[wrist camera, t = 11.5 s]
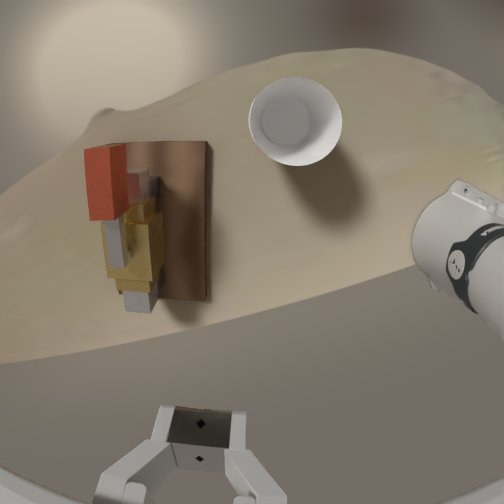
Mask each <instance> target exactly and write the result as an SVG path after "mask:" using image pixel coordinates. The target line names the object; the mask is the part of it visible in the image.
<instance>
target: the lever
mask: <svg viewBox="0 0 504 504" xmlns="http://www.w3.org/2000/svg"><path fill="white" fill-rule="evenodd" d="M84 159H85V175H86V187H87V198H88V207H89V216H90V221H93V220H103V221H104V229H105V237H106V244H107V251H108V258H109V264H110V268H125V267H126V266H127V265H128V263H129V261H130V260H131V258H132V251H131V250H130V249H129V248H128V247H127V241H126V232H125V222H124V213H125V212H126V211H128V210H129V198H128V182H127V162H126V144H114V145H103V146H98V147H93V148H89V149H84Z"/></svg>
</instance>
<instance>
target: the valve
mask: <svg viewBox="0 0 504 504" xmlns="http://www.w3.org/2000/svg"><path fill="white" fill-rule="evenodd" d="M127 182H128V198H129V210H128V211H126V212H125V213H124V222H125V232H126V241H127V247H128V248H129V249H130V250H131V251H132V258H131V260H130V261H129V263H128V265H127V266H126V267H125V268H110V264H109V258H108V251H107V244H106V237H105V229H104V221H103V222H102V223H101V232H102V241H103V249H104V256H105V263H106V270H107V276H108V278H115V280H116V287H117V290H122V292H123V298H124V304H125V310H126V311H130V312H140V313H150V314H151V312H152V310H153V308H154V306H155V304H156V302H157V300H158V297H157V294H158V293H159V291H160V289H161V288H162V286H163V284H164V282H165V275H164V262H165V250H164V232H163V210H156V204H155V202H156V201H157V200H158V199H159V198H160V176H150V171H149V169H127Z"/></svg>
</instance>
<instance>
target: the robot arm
mask: <svg viewBox="0 0 504 504" xmlns="http://www.w3.org/2000/svg"><path fill="white" fill-rule="evenodd" d="M465 189H466V191H465V192H464V190H465ZM412 249H413V256H414V259H415V262H416V264H417V265H418V267H419V268H420V269H421V270H422V271H423V272H424V273H425V274H426V276H427V277H428V281H429V284H430V287H431V288H432V289H434V290H435V291H440V290H442V291H443V292H445V293H446V294H447V295H448V296H449V297H451V298H452V299H453V300H454V301H455V302H457V303H460V302H462V303H463V304H464V305H465V306H466V307H467V308H468V309H470V310H471V311H472V312H474V313H476V314H479V315H480V316H481V317H482V318H483V320H484V321H485V322H486V323H487V324H488V325H489V326H490V327H491V328H492V330H493V331H494V332H495V333H496V334H497V335H498V336H499V338H500V339H501V340H502V341H504V203H503V202H501V201H499V200H498V199H496V198H494V197H492V196H490V195H488V194H487V193H485V192H483V191H481V190H479V189H477V188H475V187H473V186H471V185H469V184H468V183H466V182H464V181H461V180H457V181H455V182H454V183H453V184H452V186H451V187H450V188H449V190H448V191H447V192H446V193H445V194H444V195H442V196H441V197H439V198H437V199H436V200H434V201H433V202H432V203H431V204H430V205H429V206H428V207H427V208H426V209H425V210H424V212H423V213H422V215H421V216H420V218H419V220H418V222H417V224H416V227H415V230H414V234H413V241H412ZM246 437H247V412H242V411H240V412H239V411H227V410H211V409H195V408H187V407H180V406H172V405H166V404H162V405H161V406H160V409H159V412H158V415H157V419H156V422H155V426H154V430H153V433H152V437H151V440H149V439H147V440H145V441H144V442H143V443H141V444H140V445H139V446H137V447H136V448H135V449H133V450H132V451H131V452H130V453H128V454H127V455H126V456H124V457H123V458H122V459H120V460H119V461H118V462H117V463H115V464H114V465H112V466H111V467H110V468H108V469H107V470H106V471H104V472H103V473H102V474H101V477H100V480H99V483H98V486H97V489H96V492H95V495H94V498H93V501H92V503H90V502H88V501H84V500H81V499H79V498H76V497H73V496H70V495H68V494H65V493H63V492H60V491H57V490H55V489H52V488H50V487H48V486H45V485H43V484H41V483H38V482H36V481H34V480H32V479H30V478H28V477H25V476H23V475H21V474H19V473H17V472H15V471H13V470H11V469H9V468H7V467H6V466H4V465H1V464H0V504H155V502H154V501H153V499H152V497H151V496H152V495H153V494H154V493H155V492H156V491H157V490H158V489H159V488H160V487H161V486H162V485H163V484H164V483H165V482H166V481H167V480H168V479H169V478H170V477H171V476H172V475H173V474H174V473H175V472H176V471H177V470H178V468H184V469H194V470H204V471H213V472H223V473H225V474H226V476H227V477H228V479H229V481H230V482H231V484H232V486H233V487H234V489H235V491H236V492H237V494H238V495H239V496H238V497H236V498H235V499H234V504H287V496H286V494H285V493H284V492H283V491H282V490H281V488H280V487H279V486H278V485H277V484H276V482H275V481H274V480H273V479H272V477H271V476H270V475H269V474H268V472H267V471H266V470H265V468H264V467H263V466H262V465H261V463H260V462H259V461H258V460H257V458H256V457H255V455H254V454H253V453H252V451H251V450H246ZM431 504H504V476H500V477H497V478H495V479H493V480H490V481H488V482H486V483H484V484H482V485H479V486H477V487H475V488H472V489H470V490H467V491H465V492H462V493H460V494H457V495H454V496H452V497H449V498H446V499H443V500H440V501H437V502H435V503H431Z"/></svg>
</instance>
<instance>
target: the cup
mask: <svg viewBox="0 0 504 504" xmlns="http://www.w3.org/2000/svg"><path fill="white" fill-rule="evenodd" d="M249 129H250V133H251V135H252V138H253V140H254V142H255V143H256V145H257V146H258V147H259V149H260V150H261V151H262V152H263V153H264V154H266V155H267V156H268V157H270V158H272V159H273V160H275V161H277V162H280V163H282V164H286V165H291V166H304V165H309V164H312V163H315V162H317V161H319V160H321V159H323V158H324V157H325V156H327V155H328V154H329V153H330V152H331V151H332V150H333V148H334V147H335V145H336V144H337V142H338V140H339V137H340V134H341V129H342V116H341V111H340V108H339V105H338V103H337V101H336V100H335V98H334V97H333V95H332V94H331V93H330V92H329V91H328V90H327V89H326V88H325V87H324V86H322V85H321V84H319V83H318V82H316V81H313V80H311V79H308V78H304V77H286V78H282V79H278V80H276V81H274V82H272V83H270V84H269V85H267V86H266V87H265V88H264V89H263V90H262V91H261V92H260V93H259V94H258V95H257V96H256V98H255V99H254V101H253V103H252V105H251V108H250V112H249Z"/></svg>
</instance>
